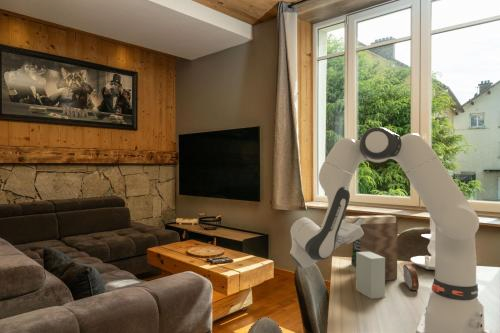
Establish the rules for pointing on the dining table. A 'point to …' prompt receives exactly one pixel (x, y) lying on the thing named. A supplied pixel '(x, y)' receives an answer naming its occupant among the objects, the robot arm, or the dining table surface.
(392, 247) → the tall stand
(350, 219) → the beech bar
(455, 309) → the robot arm
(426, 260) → the candlestick
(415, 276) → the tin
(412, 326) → the dining table surface
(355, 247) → the coffee jar
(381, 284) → the pedestal
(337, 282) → the dining table surface
